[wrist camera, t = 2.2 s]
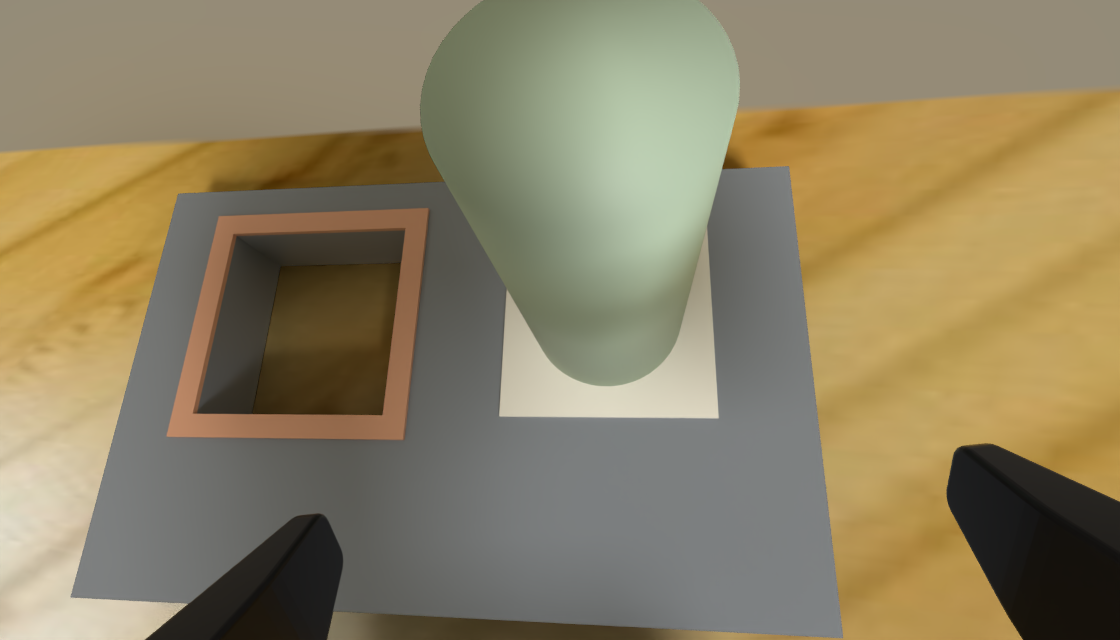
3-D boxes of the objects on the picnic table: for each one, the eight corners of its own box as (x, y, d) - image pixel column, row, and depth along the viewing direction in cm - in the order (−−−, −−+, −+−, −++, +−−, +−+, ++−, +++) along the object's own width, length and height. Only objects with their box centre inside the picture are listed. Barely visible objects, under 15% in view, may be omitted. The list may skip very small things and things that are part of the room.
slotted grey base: (144, 585, 21) (66, 598, 18) (227, 227, 26) (175, 191, 23) (811, 618, 18) (845, 639, 15) (769, 208, 23) (790, 164, 20)
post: (614, 418, 18) (587, 298, 8) (504, 321, 20) (358, 113, 9) (712, 304, 19) (809, 58, 9) (599, 220, 20) (564, -77, 10)
